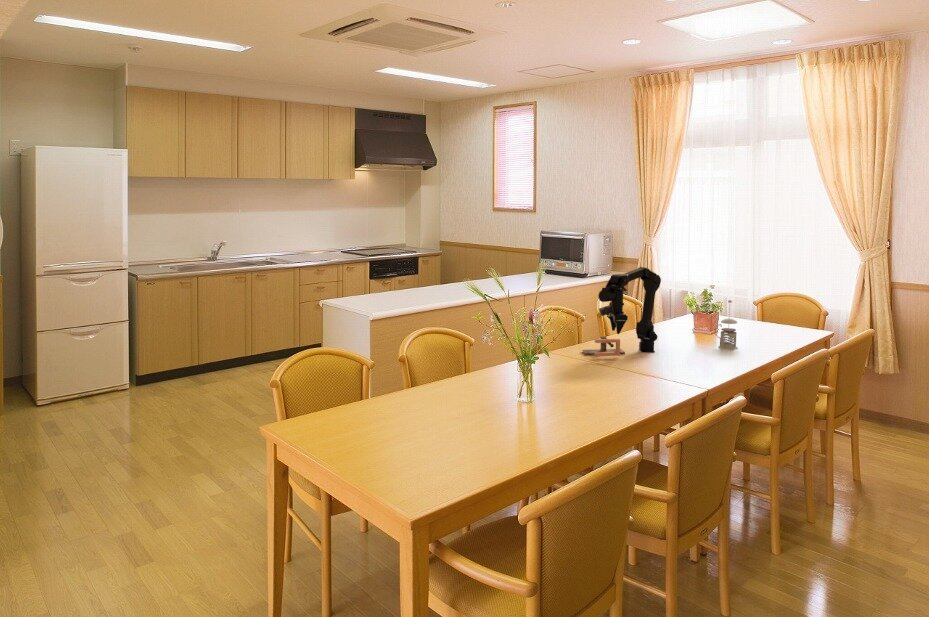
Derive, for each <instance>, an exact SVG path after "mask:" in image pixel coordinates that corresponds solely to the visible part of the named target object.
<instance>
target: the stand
mask: <svg viewBox="0 0 929 617" xmlns="http://www.w3.org/2000/svg"><path fill="white" fill-rule="evenodd" d="M600 339H608V338H607V337H606V336H600ZM607 345H608V346H610V348H607ZM581 351H583V352H582V354H583V355H584V356H585V355H589V356H595V355H594V352H616V348H614V344H613V343H600V348H599V349H597V348H596V349H581ZM620 354H625V355H626V351H624V350H623V349H621V348H620Z"/></svg>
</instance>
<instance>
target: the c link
mask: <svg viewBox="0 0 929 617" xmlns="http://www.w3.org/2000/svg"><path fill="white" fill-rule="evenodd" d="M594 343H595V344H601V343H611V344H613V343H615V349H616V352H594V355H593V356H595V357H612V356H613V357H615V356H619V357H620V356H621V355H620V349H621V339H620V338H607V339H601V338H595V339H594Z"/></svg>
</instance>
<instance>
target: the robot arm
mask: <svg viewBox="0 0 929 617" xmlns="http://www.w3.org/2000/svg"><path fill="white" fill-rule="evenodd" d="M637 279H640V280H641V281H642V287H643V289H644V300H643V304H642V314H641V319H640V320H639V321H637V322H636V325H635V326H636V327H635V334H636V338H637V339H638V340H640V341H639V342H638V344H639V345H638V350H639V351H640V352H641V353H643V352H644V353H656V351H655V342H656V341H658V334H657V333H656V332H655V326H654V323H653V320H652V319H653V313H654V306H655V300H656V299H655V298H656V292H657V291H658V289H660V285H661V283H662V278H661V276H660V275H659V274H657V273H656V272H653V271H652V270H650V269H649V268H648V267H643V266H639V267H637V268H636V269H633V270H630V271H627V272H625V273H616V274H612V275H611V276H610V278H609V279H608V282H607V283H606V285H605V287H602V288H601V290H600V291H599V292H598V300H599V301H600V302H601V303H606V302H608V305H606V306H602V307H600V308H598V312H599V315H600V316H601V317H604V316H606V317H607V318H608V319H609V322H610V325H611V330H612V331H615V330H616V334H617V335H619V334H621V331H622V330H623V328H624V326H625V324H626V323H627V321H628V317H629V316H628V315H627V314H626V313H624V312H625V311H623V310H624V309H623V308H624V306H625V303H624V292H627V289H626V288H625V287H626V286H628V284H629V283H630V282H632V281H635V280H637Z"/></svg>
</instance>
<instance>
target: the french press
mask: <svg viewBox="0 0 929 617" xmlns="http://www.w3.org/2000/svg"><path fill="white" fill-rule="evenodd" d="M727 303H729V304H731V303H733V301H732V300H731V299H729V300H727ZM728 310H729V312H728V318H723V319H722V320H720V323H719V324H717V325H716V326H715V328H714V334H715V336H716V337H717V338H718V339H719V346H717V348H718V349H720V350H727V351H728V350H730V351H731V350H732V351H733V350H738V346H737V333H738V332H736V331H737V330H736V328H731V327H723V328H722V326H723V325H722V324H728V325H735V324H738V321H737V320H735V319H733V318H730V315H731V314H730V313H731V306H729V308H728ZM719 326H720V328H721V331H720V336H718V335H717V328H718V327H719Z"/></svg>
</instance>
